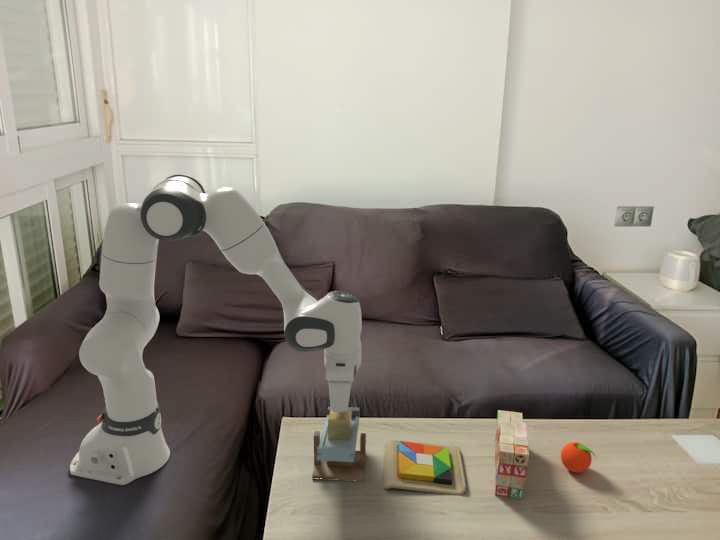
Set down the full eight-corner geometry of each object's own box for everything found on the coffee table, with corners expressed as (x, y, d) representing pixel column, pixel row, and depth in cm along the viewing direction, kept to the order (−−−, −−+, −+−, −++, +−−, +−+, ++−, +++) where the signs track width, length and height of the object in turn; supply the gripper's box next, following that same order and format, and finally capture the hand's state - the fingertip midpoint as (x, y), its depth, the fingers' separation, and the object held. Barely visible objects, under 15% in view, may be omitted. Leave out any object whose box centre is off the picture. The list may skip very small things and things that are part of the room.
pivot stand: (317, 452, 142) (316, 421, 139) (366, 454, 141) (366, 423, 139) (311, 479, 133) (311, 446, 130) (364, 481, 132) (364, 449, 129)
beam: (328, 418, 145) (328, 406, 145) (359, 419, 145) (359, 407, 145) (317, 460, 124) (317, 446, 123) (353, 462, 123) (353, 448, 123)
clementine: (595, 467, 138) (600, 442, 136) (592, 484, 132) (596, 458, 130) (561, 456, 142) (565, 432, 139) (556, 473, 136) (560, 447, 134)
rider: (330, 428, 137) (330, 408, 136) (351, 429, 137) (351, 409, 136) (327, 439, 131) (328, 419, 130) (349, 440, 131) (349, 420, 130)
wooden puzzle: (466, 497, 128) (467, 484, 127) (382, 492, 129) (383, 480, 128) (458, 449, 145) (459, 437, 144) (384, 445, 146) (384, 434, 145)
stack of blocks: (494, 440, 148) (498, 399, 144) (519, 443, 147) (524, 402, 143) (494, 496, 128) (499, 450, 124) (523, 500, 127) (529, 454, 123)
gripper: (334, 337, 145) (334, 385, 150) (324, 377, 126) (325, 431, 130) (358, 338, 145) (358, 386, 149) (353, 379, 126) (352, 432, 130)
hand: (342, 407), depth 140 cm, fingers closed
